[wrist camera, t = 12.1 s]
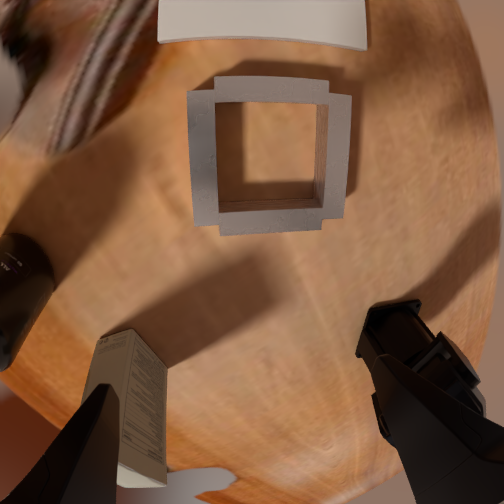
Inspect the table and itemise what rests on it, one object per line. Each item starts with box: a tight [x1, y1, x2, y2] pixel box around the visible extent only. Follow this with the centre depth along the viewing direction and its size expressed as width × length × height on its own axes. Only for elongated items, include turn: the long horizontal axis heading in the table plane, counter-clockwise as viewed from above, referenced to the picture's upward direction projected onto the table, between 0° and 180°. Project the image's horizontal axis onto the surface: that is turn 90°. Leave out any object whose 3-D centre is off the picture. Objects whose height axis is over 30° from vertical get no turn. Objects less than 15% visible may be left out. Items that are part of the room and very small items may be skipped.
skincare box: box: [81, 329, 168, 488], centre depth 19 cm, size 6×4×12 cm
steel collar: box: [187, 76, 352, 236], centre depth 17 cm, size 10×10×2 cm
